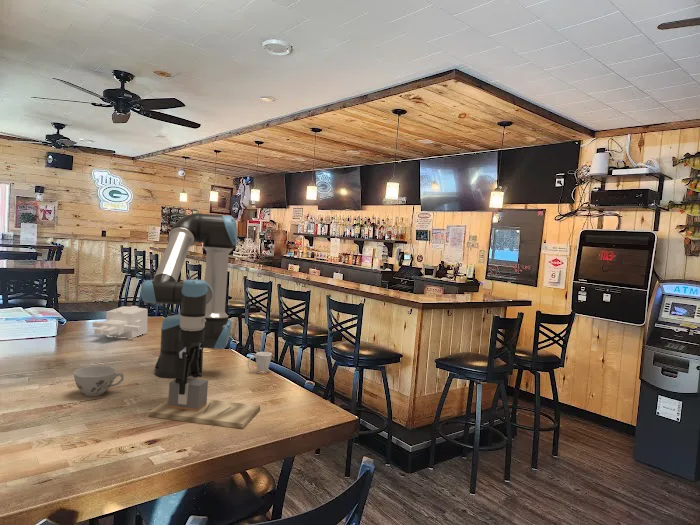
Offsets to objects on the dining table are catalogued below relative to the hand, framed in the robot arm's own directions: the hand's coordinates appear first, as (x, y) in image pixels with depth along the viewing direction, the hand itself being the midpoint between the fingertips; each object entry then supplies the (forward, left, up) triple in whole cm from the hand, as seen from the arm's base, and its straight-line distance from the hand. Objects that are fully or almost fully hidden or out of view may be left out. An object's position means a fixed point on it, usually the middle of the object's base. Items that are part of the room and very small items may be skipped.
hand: (187, 400), depth 148 cm
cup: (+7, +49, -4) cm, 50 cm away
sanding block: (0, 0, -2) cm, 2 cm away
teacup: (-35, +5, -4) cm, 35 cm away
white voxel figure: (-77, +81, -4) cm, 112 cm away
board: (+6, 0, -3) cm, 7 cm away
